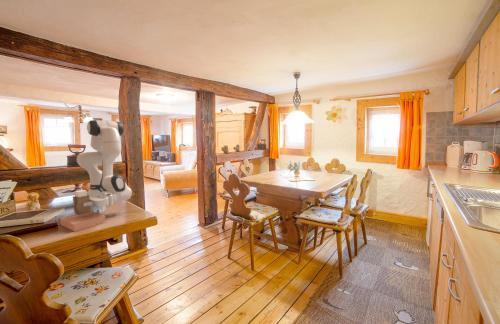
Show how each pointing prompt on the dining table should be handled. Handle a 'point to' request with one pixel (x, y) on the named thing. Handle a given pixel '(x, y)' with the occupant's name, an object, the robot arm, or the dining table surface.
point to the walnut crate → (81, 205)
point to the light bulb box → (98, 209)
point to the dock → (82, 221)
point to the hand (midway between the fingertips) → (80, 203)
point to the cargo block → (80, 193)
